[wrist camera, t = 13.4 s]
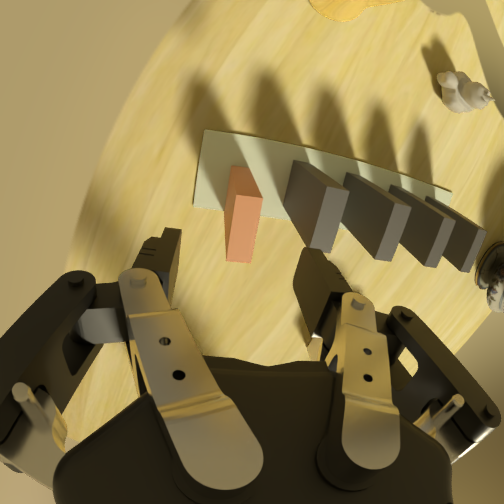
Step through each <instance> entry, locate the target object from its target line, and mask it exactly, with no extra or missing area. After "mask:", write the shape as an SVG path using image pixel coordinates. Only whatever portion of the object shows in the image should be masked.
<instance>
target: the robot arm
mask: <svg viewBox="0 0 504 504" xmlns="http://www.w3.org/2000/svg"><path fill="white" fill-rule="evenodd" d="M181 234H182V229H175V228H167V227H165V229H164V231H163V234H162V236H161V238H158V237H151V238H149V239H147V240H146V241H144V243H143V246H142V248H141V250H140V252H139V254H138V256H137V258H136V260H135V262H134V264H133V266H132V268H131V269H128V270H126V271H124V272H122V273H121V274H120V276H119V278H118V281H117V282H113V283H102V284H96V281H95V277H94V276H93V275H92V274H91V273H89V272H86V271H81V270H77V271H71V272H68V273H65V274H64V275H62V276H61V277H60V278H59V279H58V280H57V281H56V282H55V283H54V284H52V285H51V287H49V288H48V289H47V290H46V291H45V292H44V293H43V294H42V295H41V296H40V297H39V298H38V299H37V300H36V301H35V302H34V303H33V304H32V305H31V306H30V307H29V308H28V309H27V310H26V311H25V312H24V313H23V314H22V315H21V316H20V318H19V319H18V320H17V321H16V322H15V323H14V324H13V325H12V326H11V327H10V328H9V329H8V330H7V331H6V333H5V334H4V335H3V336H2V337H1V338H0V461H1V462H3V463H4V464H5V465H6V466H8V467H9V468H10V469H11V470H13V471H15V472H18V473H25V474H26V475H28V476H29V477H31V478H33V479H34V480H35V481H37V482H38V483H40V484H42V485H43V486H45V487H47V488H48V489H50V490H52V491H53V495H54V499H55V502H56V504H453V498H452V488H451V487H452V486H451V481H452V480H451V479H452V466H451V465H452V464H453V463H454V462H456V461H457V460H458V459H460V458H461V457H462V456H464V455H465V454H466V453H467V452H468V451H470V450H471V449H472V448H474V447H475V446H476V445H477V444H479V443H480V442H481V441H482V440H483V439H484V438H486V437H487V436H488V435H489V434H490V433H491V432H492V431H493V430H495V429H496V427H498V426H499V424H500V422H501V414H500V412H499V409H498V407H497V406H496V405H495V403H494V402H493V401H492V400H491V398H490V397H489V396H488V395H487V394H486V392H485V391H484V390H483V389H482V387H481V386H480V385H479V384H478V383H477V381H476V380H475V379H474V378H473V377H472V375H471V374H470V373H469V372H468V371H467V370H466V369H465V367H464V366H463V365H462V364H461V363H460V361H459V360H458V359H457V358H456V357H455V356H454V355H453V354H452V352H451V351H450V350H449V349H448V348H447V347H446V346H445V345H444V344H443V342H442V341H441V340H440V339H439V338H438V337H437V336H436V335H435V334H434V333H433V332H432V331H431V330H430V328H429V327H428V326H427V325H426V324H425V323H424V322H423V321H422V320H421V319H420V318H419V317H418V316H417V315H416V314H415V313H414V312H413V311H411V310H410V309H408V308H406V307H403V306H394V307H393V308H392V310H391V312H390V313H389V315H388V314H384V313H380V312H377V311H375V309H374V305H373V303H372V302H371V301H370V300H369V299H368V298H366V297H365V296H363V295H361V294H358V293H354V292H353V291H352V290H351V288H350V286H349V285H348V283H347V282H346V280H344V277H343V275H341V272H340V271H339V269H338V268H337V266H335V265H334V264H333V263H332V262H330V261H328V260H327V258H326V257H325V255H324V254H323V252H322V251H321V249H316V248H309V247H304V248H303V250H302V252H301V255H300V259H299V262H298V265H297V268H296V271H295V275H294V279H293V289H294V292H295V294H296V297H297V300H298V302H299V305H300V308H301V311H302V313H303V316H304V319H305V321H306V324H307V327H308V330H309V332H310V335H311V337H312V338H322V339H323V340H322V342H321V344H320V346H319V351H318V356H317V361H295V362H290V363H285V364H280V365H275V366H263V365H258V364H254V363H250V362H246V361H242V360H239V359H235V358H225V357H213V356H203V355H201V353H200V351H199V349H198V347H197V345H196V343H195V341H194V339H193V337H192V335H191V333H190V331H189V329H188V327H187V325H186V322H185V320H184V318H183V316H182V314H181V312H180V311H179V309H171V302H172V297H173V292H174V287H175V282H176V277H177V272H178V265H179V254H180V244H181ZM115 342H124V343H125V347H126V351H127V355H128V359H129V363H130V367H131V370H132V374H133V378H134V382H135V386H136V390H137V394H138V398H137V399H136V400H135V401H134V402H132V403H131V404H130V405H129V406H127V407H126V408H125V409H123V410H122V411H121V412H120V413H118V414H117V415H116V416H115V417H113V418H112V419H111V420H109V421H108V422H107V423H105V424H104V425H103V426H101V427H100V428H99V429H98V430H96V431H95V432H94V433H92V434H91V435H90V436H88V437H87V438H86V439H84V440H83V441H82V442H80V443H79V444H78V445H76V446H75V447H73V448H72V449H71V450H69V451H68V452H67V453H66V452H65V446H64V444H65V439H66V436H67V425H66V422H65V420H64V418H63V417H62V413H63V411H64V410H65V408H66V406H67V404H68V403H69V401H70V399H71V397H72V396H73V394H74V392H75V391H76V389H77V387H78V386H79V384H80V382H81V381H82V379H83V377H84V376H85V374H86V372H87V371H88V369H89V367H90V366H91V364H92V362H93V361H94V359H95V358H96V356H97V355H98V353H99V351H100V350H101V348H102V347H103V344H104V343H115ZM405 347H406V348H407V349H408V350H409V351H410V353H411V354H412V355H413V356H414V357H415V359H416V360H417V362H418V370H417V372H416V373H415V375H414V376H413V377H412V376H411V375H410V374H409V373H408V371H407V370H406V369H405V367H404V366H403V365H402V364H401V362H400V361H399V360H398V357H399V356H400V354H401V353H402V351H403V350H404V348H405Z"/></svg>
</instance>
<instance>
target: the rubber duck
mask: <svg viewBox="0 0 504 504" xmlns="http://www.w3.org/2000/svg"><path fill="white" fill-rule="evenodd" d="M437 81H438V83H439V84H440V85H441V86H442V97H443V98H442V102H443V103H444V105H445V106H446V107H447V108H448V109H449V110H451V111H453V112H455V113H463V112H470V111H472V110H473V109H483V108H484V107H485V106H487V105H488V103H489V100H490V101H495V99H493V98H492V97H490V91H489V90H488V89H486V88H485V87H484V86H483V85H482V84H480V83H478V82H472V81H471V80H470V78H469V77H468V76H467V75H466V74H465V73H464V72H454V73H453V72H452V71H447V72H445V73H438V75H437Z"/></svg>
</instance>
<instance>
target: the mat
mask: <svg viewBox="0 0 504 504" xmlns="http://www.w3.org/2000/svg"><path fill="white" fill-rule="evenodd" d="M293 160H297V161H302V162H307V163H310V164H312V165H313V166H315V167H316V168H318V169H319V170H321V171H322V172H323V173H325V174H326V175H328V176H329V177H331V178H332V179H333V180H335V181H336V182H338V183H339V184H340V185H342V186H343V182H344V179H345V175H346V172H349V173H352V174H356V175H360V176H362V177H364V178H365V179H367V180H369V181H371V182H372V183H374V184H376V185H377V186H379V187H381V188H382V189H384V190H385V191H387V192H388V191H389V188H390V185H391V184H392V185H395V186H398V187H401V188H404V189H405V190H407V191H409V192H410V193H412V194H414V195H416V196H417V197H419V198H421V199H422V200H424V201H425V198H426V196H429V197H432V198H435V199H437V200H438V201H440V202H442V203H444V204H445V205H447V206H449V204H450V201H451V198H452V195H453V193H451V192H448V191H446V190H443V189H441V188H438V187H435V186H433V185H430V184H427V183H425V182H422V181H419V180H417V179H414V178H411V177H408V176H405V175H402V174H399V173H396V172H393V171H390V170H387V169H384V168H381V167H377V166H374V165H371V164H367V163H364V162H361V161H357V160H354V159H350V158H346V157H343V156H339V155H335V154H331V153H327V152H323V151H319V150H315V149H311V148H307V147H302V146H298V145H293V144H289V143H284V142H279V141H274V140H269V139H263V138H258V137H252V136H247V135H241V134H234V133H228V132H221V131H214V130H206V129H204V135H203V141H202V147H201V154H200V160H199V167H198V174H197V181H196V189H195V196H194V204H193V207H197V208H205V209H213V210H220V211H224V210H225V203H226V196H227V189H228V183H229V176H230V169H231V165H232V166H240V167H247V168H250V170H251V173H252V175H253V177H254V179H255V181H256V184H257V186H258V188H259V190H260V192H261V195H262V197H263V202H262V207H261V212H260V216H263V217H270V218H277V219H283V220H290V221H291V219H290V217H289V216H288V214H287V212H286V211H285V209H284V207H283V202H284V198H285V193H286V189H287V185H288V181H289V176H290V172H291V168H292V163H293ZM339 229H344V230H348V229H347V228H346V227H345V226H344V225H343V224H342V223H341V222H340V225H339Z"/></svg>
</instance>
